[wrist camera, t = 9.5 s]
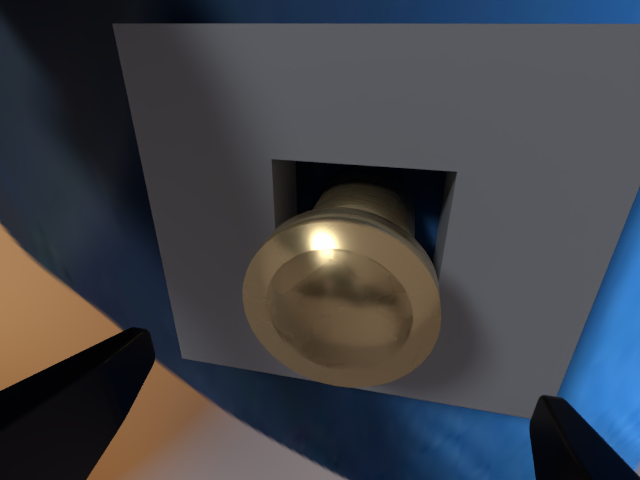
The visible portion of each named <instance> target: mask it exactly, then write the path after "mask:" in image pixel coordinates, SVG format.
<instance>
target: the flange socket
mask: <svg viewBox="0 0 640 480" xmlns="http://www.w3.org/2000/svg"><path fill="white" fill-rule="evenodd" d="M112 25H113V30H114V34H115V39H116V44H117V49H118V53H119V58H120V63H121V68H122V73H123V77H124V82H125V87H126V92H127V96H128V101H129V106H130V111H131V116H132V120H133V125H134V130H135V135H136V140H137V144H138V149H139V154H140V159H141V163H142V168H143V173H144V178H145V183H146V187H147V192H148V197H149V202H150V206H151V211H152V216H153V221H154V226H155V230H156V235H157V240H158V245H159V250H160V254H161V259H162V264H163V269H164V273H165V278H166V283H167V288H168V293H169V297H170V302H171V307H172V312H173V316H174V321H175V326H176V331H177V336H178V340H179V345H180V350H181V355H182V358H184V359H190V360H195V361H201V362H207V363H213V364H218V365H224V366H230V367H236V368H241V369H247V370H253V371H259V372H265V373H270V374H276V375H282V376H288V377H293V378H299V379H305V380H311V381H315V380H312V379H310V378H307V377H305V376H302V375H300V374H299V373H297V372H295V371H293V370H291V369H290V368H288V367H287V366H285V365H284V364H282V363H281V362H280V361H278V360H277V359H276V358H275V357H274V356H272V355H271V354H270V353H269V352H268V351H267V350H266V349H265V347H264V346H263V345H262V344H261V343H260V341H259V340H258V339H257V337H256V335H255V334H254V332H253V331H252V329H251V327H250V324H249V322H248V320H247V317H246V314H245V311H244V305H243V293H242V290H243V282H244V278H245V274H246V271H247V269H248V267H249V265H250V262H251V261H252V259H253V258H254V256H255V255H256V254H257V252H258V251H259V249H260V248H261V247H262V245H263V244H264V243H265V241H266V240H267V238H268V237H269V236H270V235H271V234H272V233H273V232H274V230H275V229H276V228H277V227H279V226H280V225H281V224H283V223H284V222H285V221H287V220H289V219H291V218H292V217H294V216H296V215H297V188H296V161H307V162H322V163H336V164H351V165H366V166H381V167H395V168H410V169H425V170H440V171H447V173H446V180H445V186H444V192H443V199H442V205H441V211H440V218H439V224H438V231H437V237H436V243H435V250H434V256H433V262H432V264H433V266H434V269H435V271H436V274H437V278H438V283H439V292H440V305H441V327H440V332H439V335H438V339H437V341H436V343H435V345H434V347H433V349H432V351H431V352H430V354H429V355H428V357H427V358H426V359H425V360H424V361H423V362H422V363H421V364H420V365H419V366H418V367H417V368H415V369H414V370H413V371H412V372H410V373H408V374H407V375H405V376H403V377H401V378H399V379H397V380H394V381H392V382H389V383H385V384H382V385H377V386H371V387H359V388H357V389H362V390H368V391H374V392H380V393H386V394H391V395H397V396H403V397H409V398H414V399H420V400H426V401H432V402H437V403H443V404H449V405H455V406H460V407H466V408H472V409H478V410H483V411H489V412H495V413H501V414H507V415H512V416H518V417H524V418H530V419H531V417H532V415H533V412H534V409H535V407H536V404H537V401H538V399H539V397H540V396H541V395H549V396H555V397H556V396H557V394H558V391H559V389H560V386H561V383H562V381H563V378H564V376H565V373H566V371H567V368H568V366H569V363H570V361H571V358H572V356H573V353H574V351H575V348H576V346H577V343H578V341H579V338H580V336H581V333H582V331H583V328H584V326H585V323H586V321H587V318H588V315H589V313H590V310H591V308H592V305H593V303H594V300H595V298H596V295H597V293H598V290H599V288H600V285H601V283H602V280H603V278H604V275H605V273H606V270H607V268H608V265H609V263H610V260H611V258H612V255H613V252H614V250H615V247H616V245H617V242H618V240H619V237H620V235H621V232H622V230H623V227H624V225H625V222H626V220H627V217H628V215H629V212H630V210H631V207H632V205H633V202H634V200H635V197H636V195H637V192H638V190H639V187H640V24H112ZM316 382H318V381H316ZM351 388H355V387H351Z"/></svg>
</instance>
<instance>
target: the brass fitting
mask: <svg viewBox="0 0 640 480" xmlns="http://www.w3.org/2000/svg"><path fill="white" fill-rule="evenodd" d="M242 293H243V305H244V311H245V314H246V317H247V320H248V322H249V324H250V327H251V329H252V331H253V332H254V334H255V335H256V337H257V339H258V340H259V341H260V343H261V344H262V345H263V346H264V347H265V349H266V350H267V351H268V352H269V353H270V354H271V355H272V356H274V357H275V358H276V359H277V360H278V361H280V362H281V363H282V364H284V365H285V366H287V367H288V368H290V369H291V370H293V371H295V372H297V373H299V374H300V375H302V376H305V377H307V378H310V379H312V380H315V381H318V382H321V383H325V384H329V385H334V386H341V387H355V388H359V387H371V386H377V385H382V384H385V383H389V382H392V381H394V380H397V379H399V378H401V377H403V376H405V375H407V374H408V373H410V372H412V371H413V370H414V369H415V368H417V367H418V366H419V365H420V364H421V363H422V362H423V361H424V360H425V359H426V358H427V357H428V355H429V354H430V352H431V351H432V349H433V347H434V345H435V343H436V341H437V339H438V335H439V332H440V327H441V305H440V292H439V283H438V278H437V274H436V271H435V269H434V266H433V264H432V262H431V260H430V258H429V257H428V255H427V253H426V252H425V250H424V249H423V248H422V247H421V245H420V244H419V243H418V242H417V241H416V240H415V204H414V200H413V197H412V195H411V193H410V191H409V189H408V188H407V186H406V185H405V184H404V183H403V182H402V181H401V180H400V179H399V178H398V177H397V176H395V175H394V174H392V173H391V172H389V171H386V170H384V169H381V168H377V167H371V166H361V167H354V168H351V169H348V170H346V171H343V172H342V173H340V174H338V175H337V176H336V177H334V178H333V179H332V180H331V181H330V183H329V184H328V185H327V187H326V188H325V190H324V192H323V193H322V195H321V197H320V198H319V200H318V202H317V203H316V205H315V207H314V208H313V210H310V211H307V212H304V213H301V214H299V215H296V216H294V217H292V218H291V219H289V220H287V221H285V222H284V223H283V224H281V225H280V226H279V227H277V228H276V229H275V230H274V232H273V233H272V234H271V235H270V236H269V237H268V238H267V240H266V241H265V243H264V244H263V245H262V247H261V248H260V249H259V251H258V252H257V254H256V255H255V256H254V258H253V259H252V261H251V262H250V265H249V267H248V269H247V271H246V274H245V278H244V282H243V290H242Z"/></svg>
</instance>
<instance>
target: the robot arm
mask: <svg viewBox="0 0 640 480" xmlns="http://www.w3.org/2000/svg"><path fill="white" fill-rule="evenodd" d="M154 361H155V350H154V346H153V342H152V338H151V334H150V332H149V331H148V330H147V329H142V328H136V327H132V328H129V329H127V330H125V331H123V332H121V333H119V334H117V335H115V336H113V337H110V338H108V339H106V340H104V341H102V342H100V343H98V344H96V345H94V346H92V347H90V348H88V349H86V350H84V351H82V352H80V353H78V354H75V355H74V356H71V357H70V358H68V359H65V360H63V361H61V362H59V363H57V364H55V365H53V366H51V367H49V368H47V369H45V370H42V371H40V372H38V373H36V374H34V375H33V376H30V377H28V378H26V379H24V380H22V381H20V382H18V383H16V384H14V385H12V386H9V387H8V388H5V389H4V390H1V391H0V480H86V479H87V478H88V476H89V474H90V473H91V471H92V470H93V468H94V467H95V465H96V464H97V462H98V460H99V459H100V457H101V456H102V454H103V453H104V451H105V450H106V448H107V447H108V445H109V443H110V442H111V440H112V439H113V437H114V436H115V434H116V433H117V431H118V429H119V428H120V426H121V425H122V423H123V421H124V420H125V418H126V416H127V414H128V412H129V411H130V408H131V406H132V405H133V403H134V401H135V399H136V397H137V395H138V393H139V391H140V389H141V387H142V385H143V383H144V381H145V379H146V378H147V375H148V374H149V372H150V370H151V368H152V366H153V364H154ZM529 429H530V439H531V446H532V454H533V461H534V468H535V476H536V480H640V477H639V476H638V475H637V474H636V473H635V472H634V471H633V469H632V468H631V467H630V466H629V465H628V464H627V463H626V462H625V461H624V460H623V459H622V458H621V457H620V456H619V455H618V454H617V453H616V452H615V451H614V450H613V449H612V448H611V447H610V446H609V445H608V444H607V442H606V441H605V440H604V439H603V438H602V437H601V436H600V435H599V434H598V433H597V432H596V431H595V430H594V429H593V428H592V427H591V426H590V425H589V424H588V423H587V422H586V421H585V420H584V419H583V418H582V417H581V415H580V414H579V413H578V412H577V411H576V410H575V409H574V408H573V407H572V406H571V405H570V404H569V403H568V402H567V401H566V400H565V399H563V398H561V397H555V396H549V395H541V396H540V397H539V399H538V401H537V404H536V407H535V409H534V412H533V415H532V417H531V420H530V427H529Z"/></svg>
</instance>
